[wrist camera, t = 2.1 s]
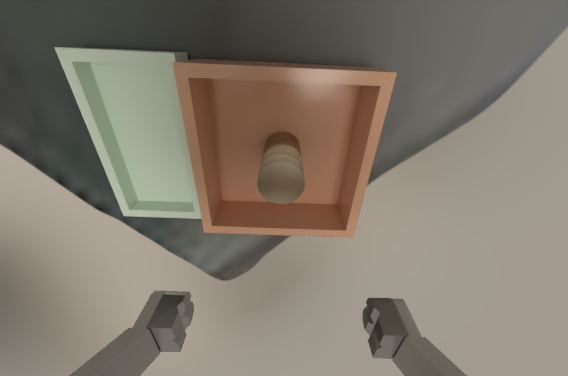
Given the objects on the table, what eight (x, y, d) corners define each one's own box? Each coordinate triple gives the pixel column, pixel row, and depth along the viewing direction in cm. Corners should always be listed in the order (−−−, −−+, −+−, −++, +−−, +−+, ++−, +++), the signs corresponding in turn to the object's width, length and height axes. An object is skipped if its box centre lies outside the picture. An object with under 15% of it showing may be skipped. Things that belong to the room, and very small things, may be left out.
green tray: (81, 47, 22) (54, 47, 19) (186, 52, 22) (173, 52, 19) (136, 202, 31) (123, 215, 29) (210, 204, 31) (203, 218, 29)
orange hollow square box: (198, 58, 22) (172, 62, 17) (371, 66, 23) (397, 72, 17) (217, 202, 31) (204, 232, 26) (341, 206, 31) (352, 237, 26)
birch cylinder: (264, 130, 25) (256, 161, 18) (301, 131, 25) (307, 163, 18) (264, 163, 27) (257, 203, 20) (298, 165, 27) (302, 204, 20)
